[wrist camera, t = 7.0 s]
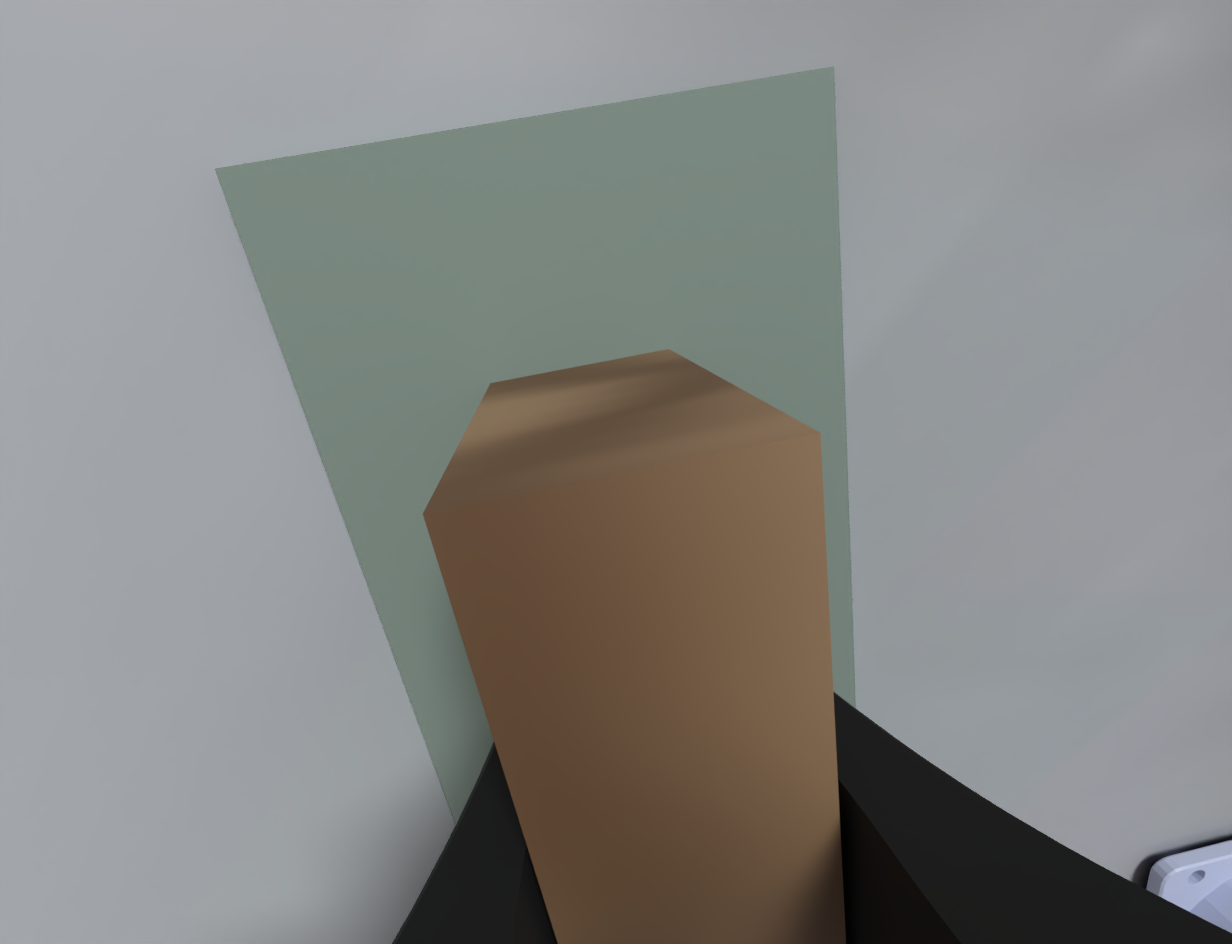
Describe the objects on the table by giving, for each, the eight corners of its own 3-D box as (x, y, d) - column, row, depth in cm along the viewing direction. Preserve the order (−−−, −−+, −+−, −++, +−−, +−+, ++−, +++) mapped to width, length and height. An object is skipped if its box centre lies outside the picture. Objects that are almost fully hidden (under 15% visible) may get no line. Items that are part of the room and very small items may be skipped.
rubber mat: (821, 75, 9) (834, 66, 8) (853, 875, 15) (862, 891, 14) (229, 173, 8) (214, 169, 8) (513, 960, 14) (512, 979, 14)
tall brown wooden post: (669, 348, 9) (820, 433, 4) (738, 853, 13) (860, 1211, 8) (489, 382, 9) (423, 514, 4) (614, 883, 13) (659, 1268, 8)
